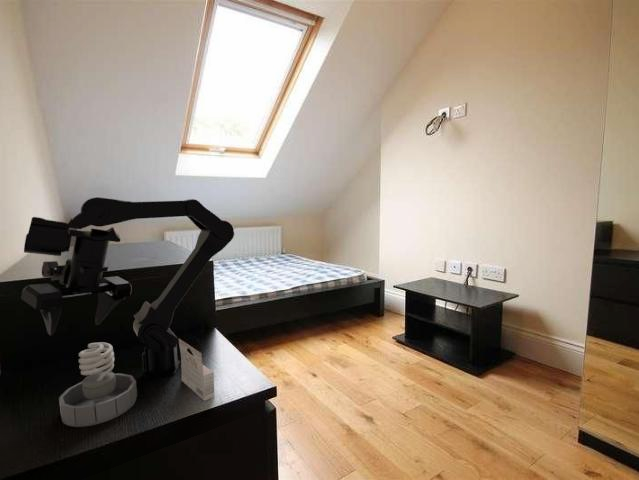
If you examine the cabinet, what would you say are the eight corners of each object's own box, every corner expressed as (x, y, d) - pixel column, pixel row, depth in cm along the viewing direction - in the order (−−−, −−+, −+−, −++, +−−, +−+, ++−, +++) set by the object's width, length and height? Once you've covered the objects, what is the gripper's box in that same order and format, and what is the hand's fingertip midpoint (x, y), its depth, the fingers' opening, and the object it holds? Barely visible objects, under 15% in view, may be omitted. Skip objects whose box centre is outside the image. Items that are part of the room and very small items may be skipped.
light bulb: (122, 403, 67) (117, 342, 66) (88, 417, 63) (82, 352, 61) (112, 393, 71) (107, 335, 69) (79, 405, 67) (73, 344, 65)
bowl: (144, 386, 74) (142, 370, 73) (124, 421, 62) (122, 402, 62) (80, 393, 72) (78, 377, 71) (47, 431, 60) (45, 412, 59)
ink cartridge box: (192, 377, 78) (189, 334, 76) (215, 397, 69) (213, 349, 68) (180, 381, 76) (177, 337, 75) (203, 402, 68) (200, 353, 67)
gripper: (108, 245, 83) (96, 306, 85) (12, 246, 66) (0, 323, 68) (139, 260, 79) (125, 325, 81) (45, 266, 62) (30, 347, 64)
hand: (74, 329), depth 74 cm, fingers open, 9 cm apart
